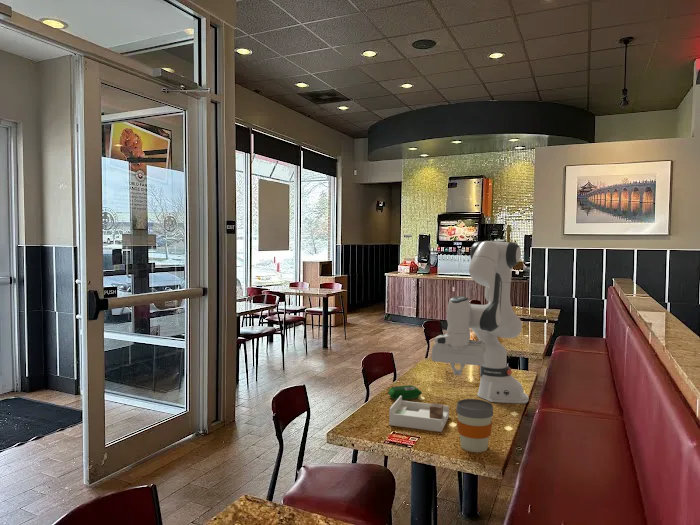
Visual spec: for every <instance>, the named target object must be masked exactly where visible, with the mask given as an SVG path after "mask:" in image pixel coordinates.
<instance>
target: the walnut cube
mask: <svg viewBox="0 0 700 525" xmlns="http://www.w3.org/2000/svg"><path fill="white" fill-rule="evenodd" d="M430 404H431V405H430V418H435V419H442V417H443V405H444V404H443V403H436V402H435V403H434V402H432V403H430Z"/></svg>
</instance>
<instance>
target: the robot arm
mask: <svg viewBox="0 0 700 525" xmlns="http://www.w3.org/2000/svg"><path fill="white" fill-rule="evenodd" d="M469 252H470V253H469V256H470V264H469V268H468V273H469V275H470V278H471V279H472V280H473V281H474V282H475V283H476V284H478V285H481V286H483V287H485V288H484V299H485V300H486V301H487V302H488V303H486V304H475V303H470V299H469V298H468V297H466V296H462V295H461V296H459V295H458V296H453V297H451V298H450V299H449V300H448V304H447V310H446V322H447V327H446V328H447V329H446V333H444V334H439V335H437V336H435V338H434V345H432V347H431V348H432V349H431V356H430V357H431V358H430V359H431V361H432V362H434V363H435V362H437V363H447V364H450V368H451V369H452V371H453V375H454V376H462V374H463V373H462V372H463V369H464V368H465V366H466V365H470V366H478V367H479V366H480V367H479V376H480V381H479V388H478V391H477V394H476V395H477V396H478V397H479V398H481V399H482V400H483V399H484V400H485V401H487V402H489V403H491V402H492V403H502V404H503V403H504V404H505V403H506V404H521V405H522V404H527V403H528V402H529V398H530V397H529V396H528V394H527V393H526V392H524V387H523V385H522V383H521V382H520V381H519V380H517V379H516V378H515V377H513V375H512V369H511V367H510V366H507V355H508V351H507V349H506V346H504V345H503V344H502V343H501V342H500V341H499V338H504V339H513V338H517V337H518V336H519V335H520V334H521V332H522V330H523V323H522V321H521V319H520V317H519V316H518V315H516V313H515V312H514V309H513V306H512V302H511V284H512V269H513V268H514V267H515V266H517V265H518V264H519V263H520V260H521V257H522V252H521V247H520V245H519V244H518V243H516V242H511V241H510V242H508V241H498V240H496V241H490V240H484V241H482V240H481V241H477V242H474V243H473V244H472V245H471V247H470V251H469ZM471 331H472V332H473V333H474V334H475V335H476V338H477V339H478V340H474V339H471ZM456 364H457V365H459V366H460V369H456Z"/></svg>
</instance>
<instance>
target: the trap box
mask: <svg viewBox="0 0 700 525" xmlns="http://www.w3.org/2000/svg"><path fill="white" fill-rule="evenodd" d="M431 404H432V403H426V402H418V401H410V400H409V401H408V400H402V396H400V397H399V398H398V399H397V400H395V402H394V403H393V404H391V406H390V407H389V411H388V412H389V415H388V416H389V418H388V421H389V423H388V424H389V426H393V427H394V426H395V427H400V428H401V427H402V428H411V429H417V430H424V431H432V432H438V433H439V432H440V433H442V432H443V429H444V428H445V425H446V423H447V421H448V420H449V417H450V416H449V415H450V406H449V405H444V404H443V417H442V419H435V418H430V405H431Z"/></svg>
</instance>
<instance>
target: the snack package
mask: <svg viewBox="0 0 700 525" xmlns="http://www.w3.org/2000/svg"><path fill="white" fill-rule="evenodd" d="M387 393H388V396H389V397H390V398H391V399H393V400H395V401H396V400H397V399H398V398H399V397H400V396H402V401H406V400H414V399H418V397H419V396H420V395H422V391H421V389H419V388H418V387H416V386H415V385H397V386H396V385H395V386H391V387H390V388H389V390H388V392H387Z"/></svg>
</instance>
